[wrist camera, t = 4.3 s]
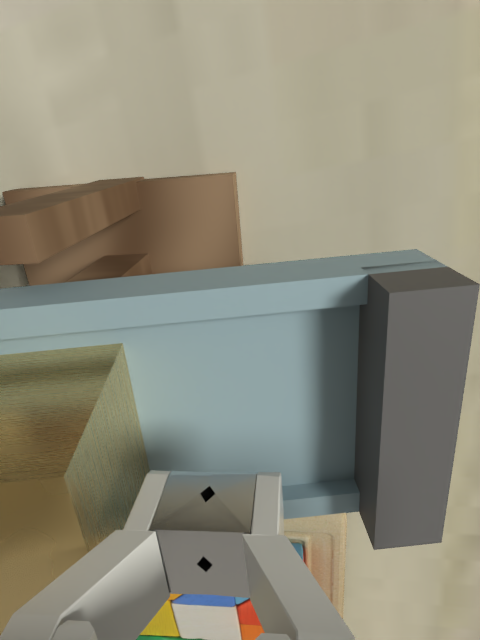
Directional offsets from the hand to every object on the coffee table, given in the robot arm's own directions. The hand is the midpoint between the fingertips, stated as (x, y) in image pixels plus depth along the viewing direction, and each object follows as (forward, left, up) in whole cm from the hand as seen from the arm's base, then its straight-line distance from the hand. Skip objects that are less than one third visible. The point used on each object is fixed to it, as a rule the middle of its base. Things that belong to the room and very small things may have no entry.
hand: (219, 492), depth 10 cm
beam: (0, -5, -4) cm, 7 cm away
